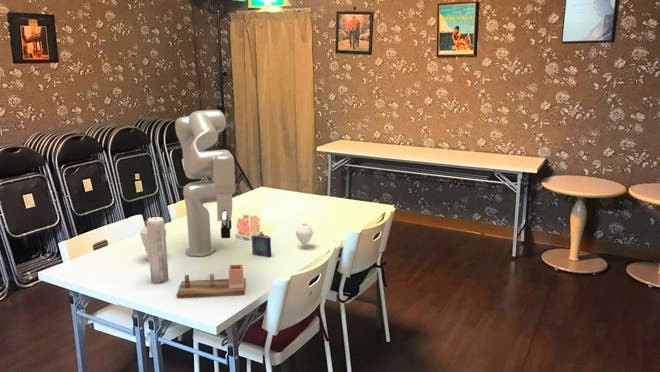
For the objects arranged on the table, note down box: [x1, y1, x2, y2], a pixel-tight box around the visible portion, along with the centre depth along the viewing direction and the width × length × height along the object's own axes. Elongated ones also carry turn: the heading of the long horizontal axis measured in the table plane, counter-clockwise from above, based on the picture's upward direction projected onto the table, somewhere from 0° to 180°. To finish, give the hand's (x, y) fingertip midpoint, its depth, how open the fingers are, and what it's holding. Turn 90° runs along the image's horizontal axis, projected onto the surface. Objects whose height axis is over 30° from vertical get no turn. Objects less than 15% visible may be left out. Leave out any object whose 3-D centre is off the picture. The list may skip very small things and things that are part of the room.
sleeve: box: [228, 264, 245, 288], centre depth 205 cm, size 5×5×7 cm
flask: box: [251, 231, 272, 258], centre depth 239 cm, size 9×3×11 cm, turn 65°
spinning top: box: [295, 221, 314, 249], centre depth 247 cm, size 8×8×12 cm
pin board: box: [176, 273, 247, 299], centre depth 204 cm, size 12×24×6 cm, turn 96°
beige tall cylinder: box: [146, 216, 170, 285], centre depth 211 cm, size 6×6×25 cm
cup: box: [139, 226, 167, 262], centre depth 233 cm, size 10×10×14 cm
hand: (226, 233), depth 203 cm, fingers open, 9 cm apart
